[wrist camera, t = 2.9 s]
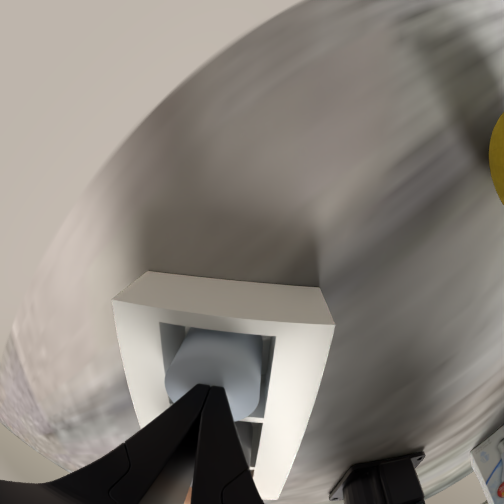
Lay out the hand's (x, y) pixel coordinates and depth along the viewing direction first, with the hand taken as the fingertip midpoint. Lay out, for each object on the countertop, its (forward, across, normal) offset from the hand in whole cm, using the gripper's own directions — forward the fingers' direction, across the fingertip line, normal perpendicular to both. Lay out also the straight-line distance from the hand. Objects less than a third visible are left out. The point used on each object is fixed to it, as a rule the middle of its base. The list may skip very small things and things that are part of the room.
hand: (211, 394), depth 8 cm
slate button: (+3, 0, 0) cm, 3 cm away
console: (+4, 0, +4) cm, 6 cm away
